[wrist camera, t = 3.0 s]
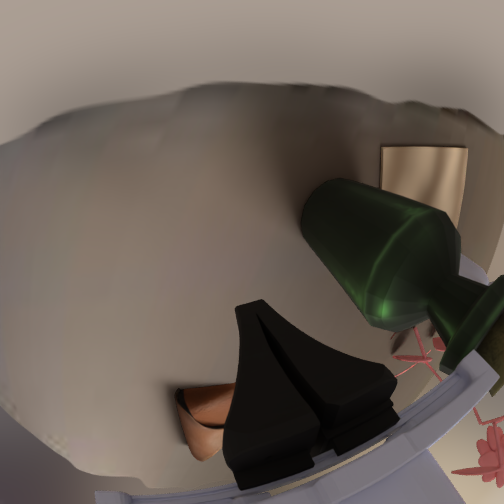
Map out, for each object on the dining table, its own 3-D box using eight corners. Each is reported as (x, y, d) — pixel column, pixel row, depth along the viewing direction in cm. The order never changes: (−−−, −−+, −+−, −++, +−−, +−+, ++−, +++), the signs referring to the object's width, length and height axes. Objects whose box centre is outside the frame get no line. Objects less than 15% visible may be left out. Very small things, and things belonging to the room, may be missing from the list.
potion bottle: (274, 249, 22) (432, 455, 6) (313, 151, 19) (567, 280, 4) (347, 265, 25) (484, 403, 10) (383, 186, 22) (558, 293, 7)
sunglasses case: (241, 438, 37) (230, 471, 31) (200, 426, 38) (186, 458, 32) (247, 378, 28) (230, 426, 23) (189, 363, 30) (165, 406, 24)
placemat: (466, 148, 23) (467, 148, 23) (455, 227, 29) (456, 228, 29) (381, 147, 20) (383, 147, 20) (372, 257, 26) (374, 258, 25)
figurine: (383, 331, 33) (516, 508, 4) (460, 308, 42) (556, 414, 13) (341, 395, 40) (434, 544, 11) (425, 361, 49) (503, 462, 20)
